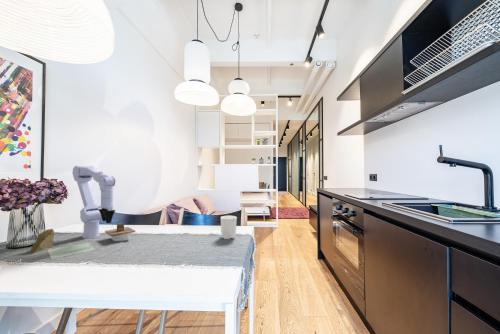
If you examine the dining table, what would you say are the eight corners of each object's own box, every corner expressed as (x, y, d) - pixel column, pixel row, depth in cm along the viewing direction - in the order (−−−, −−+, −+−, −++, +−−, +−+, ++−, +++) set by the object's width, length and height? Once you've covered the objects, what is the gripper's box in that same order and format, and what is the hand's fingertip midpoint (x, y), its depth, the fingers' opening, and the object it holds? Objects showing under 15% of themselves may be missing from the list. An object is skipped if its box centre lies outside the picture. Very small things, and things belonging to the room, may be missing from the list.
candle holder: (217, 238, 125) (217, 218, 126) (224, 234, 135) (224, 215, 135) (233, 240, 123) (233, 219, 123) (238, 235, 132) (239, 216, 132)
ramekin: (108, 242, 118) (109, 234, 118) (114, 237, 126) (114, 230, 126) (126, 241, 120) (127, 233, 120) (131, 236, 129) (131, 229, 129)
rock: (33, 250, 99) (59, 241, 108) (26, 235, 100) (52, 227, 109) (27, 260, 103) (53, 251, 112) (20, 245, 105) (46, 237, 114)
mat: (47, 250, 105) (47, 249, 105) (87, 242, 117) (87, 242, 117) (51, 259, 94) (51, 259, 94) (94, 250, 106) (94, 249, 106)
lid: (105, 232, 123) (105, 223, 123) (127, 228, 132) (127, 220, 132) (111, 236, 115) (111, 227, 115) (135, 232, 124) (135, 223, 124)
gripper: (95, 197, 124) (95, 221, 123) (102, 199, 114) (101, 225, 114) (109, 196, 129) (109, 219, 129) (117, 198, 119) (116, 222, 119)
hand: (106, 221), depth 121 cm, fingers open, 7 cm apart
